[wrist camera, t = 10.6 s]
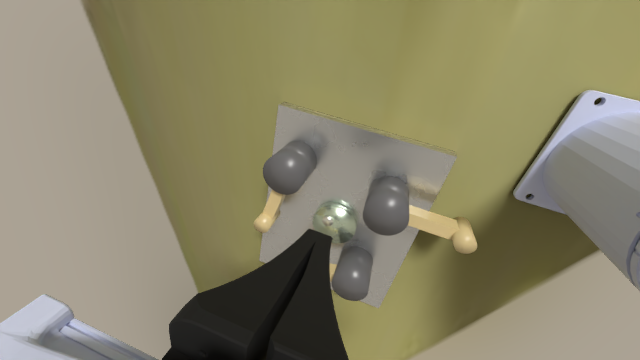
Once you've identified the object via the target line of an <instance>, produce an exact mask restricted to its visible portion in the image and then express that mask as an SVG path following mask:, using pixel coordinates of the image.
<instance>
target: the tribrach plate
mask: <svg viewBox="0 0 640 360" xmlns="http://www.w3.org/2000/svg"><path fill="white" fill-rule="evenodd" d="M292 141H302V142H305V143H306V144H308V145H309V146H310V147H311V148H312V149H313V150H314V152H315V154H316V157H317V165H316V168H315V169H314V171H313V172H312V173H311V175H310V176H309V177H308V179H307V180H306V181H305V183H304V184H303V185H302V186H301V188H300V189H299V190H298V191H297V192H296V193H294V194H290V195H286V196H285V198H284V200H283V202H282V205H281V207H280V212H281V213H280V216H279V217H278V218H277V220H276V221H275V222H274V224H273V225H272V226H271V228H270V229H269V230H268V231H267V232H266V233H263V235H262V243H261V252H260V260H259V261H262V262H264V263H268V262H269V261H271V260H272V259H274V258H275V257H276V256H278V255H279V254H280V253H282V252H283V251H285V250H286V249H287V248H288V247H289V246H291V245H292V244H293V243H294V242H295V241H296V240H298V239H299V238H300V237H301V236H302V235H303V234H304V233H305V232H306V231H307V229H312V230H315V231H318V232H321V233H323V234H326V235H329V236H331V237H332V238H333V240H332V243H331V249H330V263H331V264H337V263H338V260H339V257H340V254H341V252H342V250H343V249H344V248H346V247H349V246H358V247H361V248H363V249H365V250H367V251H368V252H369V253H370V254H371V256H372V258H373V265H372V271H371V278H370V284H369V290H368V294H367V296H366V297H365V298H364V299H362V300H359V301H362V302H364V303H367V304H369V305H372V306H374V307H377V308H379V307H380V305H381V303H382V301H383V299H384V297H385V295H386V293H387V291H388V289H389V287H390V286H391V284H392V282H393V280H394V278H395V276H396V274H397V272H398V270H399V268H400V266H401V264H402V262H403V260H404V258H405V257H406V255H407V253H408V251H409V249H410V247H411V245H412V243H413V241H414V239H415V237H416V235H417V233H418V231H419V229H417V228H414V227H411V226H408V225H407V227H406V228H405V229H404V230H403V231H402V232H400V233H398V234H396V235H391V236H385V235H380V234H377V233H375V232H373V231H372V230H370V229H369V228H368V227H367V226H366V224H365V222H364V220H363V210H364V206H365V202H366V199H367V195H368V191H369V188H370V185H371V184H372V182H373V181H374V180H376V179H377V178H379V177H382V176H394V177H397V178H399V179H401V180H402V181H403V182H404V183H405V184H406V185H407V187H408V190H409V205H412V206H415V207H418V208H421V209H424V210H427V211H429V210H430V208H431V206H432V204H433V202H434V200H435V199H436V197H437V195H438V193H439V191H440V189H441V187H442V185H443V183H444V181H445V179H446V177H447V175H448V173H449V171H450V170H451V168H452V166H453V164H454V162H455V160H456V158H457V156H456V154H455V151H452V150H448V149H445V148H441V147H438V146H434V145H431V144H428V143H424V142H421V141H417V140H414V139H410V138H407V137H404V136H400V135H397V134H393V133H390V132H386V131H383V130H380V129H376V128H373V127H369V126H366V125H362V124H359V123H355V122H352V121H349V120H345V119H342V118H338V117H335V116H331V115H328V114H325V113H321V112H318V111H314V110H311V109H307V108H304V107H301V106H297V105H294V104H290V103H287V102H283V103H281V104H279V106H278V114H277V123H276V131H275V139H274V147H273V155H274V154H275V153H277V152H278V151H279V150H280V149H282V148H283V147H284V146H285V145H287V144H288V143H289V142H292ZM273 155H272V156H273ZM271 191H272V189H271V188H270V187H268V195H267V201H268V199H269V196H270V194H271ZM266 204H267V203H266ZM330 284H331V289H332V290H333V288H332V282H330Z"/></svg>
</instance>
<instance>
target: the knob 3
mask: <svg viewBox="0 0 640 360" xmlns="http://www.w3.org/2000/svg"><path fill="white" fill-rule="evenodd" d="M363 220H364V222H365V224H366V226H367V227H368V228H369V229H370V230H372V231H373V232H375V233H377V234H380V235H385V236H391V235H396V234H398V233H400V232H402V231H403V230H404V229H405V228H406V227H407V225H408V226H411V227H414V228H417V229H420V230H423V231H426V232H429V233H431V234H434V235H437V236H440V237H443V238H446V239H449V240H452V241H453V245H454V248H455V250H456V251H458V252H460V253H463V254H468V253H472V252H474V251H475V250H476V249H477V242H476V239H475V236H474V234H473V231H472V228H471V225H470V222H469V221H468V220H467V219H466V218H464V217H455V218H453V219H451V218H448V217H445V216H442V215H439V214H436V213H433V212H430V211H427V210H424V209H421V208H418V207H415V206H412V205H409V190H408V187H407V185H406V184H405V183H404V182H403V181H402V180H401V179H399V178H397V177H394V176H382V177H379V178H377V179H376V180H374V181H373V182H372V184H371V185H370V188H369V191H368V195H367V199H366V202H365V206H364V210H363Z"/></svg>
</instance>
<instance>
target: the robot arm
mask: <svg viewBox="0 0 640 360" xmlns="http://www.w3.org/2000/svg"><path fill="white" fill-rule="evenodd" d="M599 97H601V99H602V100H601V102H600V103H599V104H596V105H594V102H595V100H596V99H597V98H599ZM527 194H532V196H530V197H526V195H527ZM513 195H514V197H515V198H516V199H518V200H520V201H524V202H527V203H530V204H533V205H537V206H540V207H543V208H546V209H550V210H553V211H556V212H559V213H563V214H566V215H568V216H569V217H570V218H571V219H572V220H573V222H574V223H575V224H576V225H577V226H578V227H579V228H580V229H581V230H582V231H583V232H584V233H585V234H586V235H587V236H588V237H589V238H590V239H591V240H592V242H593V243H594V244H595V245H596V246H597V247H598V248H599V249H600V250H601V251H602V252H603V253H604V254H605V255H606V256H607V257H608V258H609V259H610V260H611V262H613V264H614V265H615V266H616V267H617V268H618V269H619V270H620V271H621V272H622V273H623V274H624V275H625V276H626V277H627V278H628V279H629V281H630V282H631V283H632V284H633V285H634V286H635V287H636V288H637V289H638V290H639V291H640V101H637V100H633V99H628V98H624V97H620V96H616V95H611V94H607V93H603V92H599V91H595V90H587V91H584V92H583V93H581V94H580V95H579V96H578V98H577V99H576V101H575V102H574V103H573V105H572V106H571V108H570V109H569V111H568V112H567V114H566V115H565V117H564V118H563V119H562V121H561V122H560V124H559V125H558V127H557V128H556V130H555V131H554V133H553V134H552V136H551V137H550V138H549V140H548V141H547V143H546V144H545V146H544V147H543V149H542V150H541V152H540V153H539V154H538V156H537V157H536V159H535V160H534V162H533V163H532V165H531V166H530V168H529V169H528V170H527V172H526V173H525V175H524V176H523V178H522V179H521V181H520V182H519V184H518V185H517V186H516V188H515V189H514V191H513ZM332 240H333V238H332V237H331V236H329V235H326V234H323V233H321V232H318V231H315V230H312V229H307V231H306V232H305V233H304V234H303V235H302V236H301V237H300V238H299V239H298V240H296V241H295V242H294V243H293V244H292V245H291V246H289V247H288V248H287V249H286V250H285V251H283V252H282V253H280V254H279V255H278V256H276V257H275V258H274V259H272V260H271V261H269V262H268V263H266V264H264V265H263V266H261V267H259V268H258V269H256V270H254V271H252V272H250V273H248V274H247V275H245V276H242V277H240V278H238V279H236V280H234V281H231V282H229V283H227V284H224V285H222V286H219V287H216V288H213V289H210V290H207V291H205V292H202V293H198V294H197V295H196V296H195V297H193V298H192V299H191V300H190V301H189V302H188V303H187V304H186V305H185V306H184V307H183V308H182V309H181V311H180V312H179V313H178V314H177V315H176V317H174V319H173V320H172V321H171V323H170V324H169V334H170V340H171V348H170V350H169V351H168V352H167V353H166V355H165V356H164V357H163V358H162V360H349V359H348V356H347V353H346V350H345V347H344V344H343V341H342V338H341V335H340V331H339V328H338V323H337V319H336V315H335V311H334V305H333V300H332V293H331V284H330V249H331V243H332ZM0 360H158V359H156V358H154V357H152V356H150V355H148V354H146V353H144V352H142V351H140V350H138V349H136V348H134V347H132V346H130V345H128V344H126V343H124V342H122V341H120V340H118V339H116V338H114V337H112V336H110V335H108V334H106V333H104V332H102V331H100V330H98V329H96V328H94V327H91V326H90V325H88V324H86V323H84V322H82V321H80V320H78V319H76V318H74V314H73V312H72V310H71V309H70V307H69V306H68V305H66V304H65V303H63V302H61V301H59V300H57V299H55V298H53V297H51V296H49V295H47V294H43V295H41V296H40V297H38V298H37V299H35V300H34V301H33V302H31V303H29V304H28V305H27V306H25V307H24V308H22V309H21V310H20V311H18V312H16V313H15V314H13V315H12V316H10V317H9V318H7V319H6V320H4V321H3V322H1V323H0Z"/></svg>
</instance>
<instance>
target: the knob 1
mask: <svg viewBox="0 0 640 360" xmlns="http://www.w3.org/2000/svg"><path fill="white" fill-rule="evenodd" d="M316 165H317V157H316V154H315V152H314V150H313V149H312V148H311V147H310V146H309V145H308V144H306V143H305V142H302V141H292V142H289V143H288V144H287V145H285V146H284V147H283V148H282V149H280V150H279V151H278V152H277V153H275V154H274V155H273V156H272V157H270V158H269V159H268V160H267V161H266V162H265V164H264V167H263V176H264V179H265V181H266V183H267V184H268V186H269V187H270V188H271V189H272V191H271V194H270V196H269V199H268V201H267V204H266V206H265V208H264V211H263V212H262V213H261V214H260V216H259V217H258V218H257V219H256V220H255V221H254V227H255V229H256V230H257V231H259V232H261V233H266V232H267V231H268V230H269V229H270V228H271V226H272V225H273V224H274V222H275V221H276V220H277V218H278V217H279V216H280V213H281V212H280V207H281V205H282V202H283V200H284V198H285V196H286V195H290V194H294V193H296V192H297V191H298V190H299V189H300V188H301V186H302V185H303V184H304V183H305V181H306V180H307V179H308V177H309V176H310V175H311V173H312V172H313V171H314V169H315V168H316Z"/></svg>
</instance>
